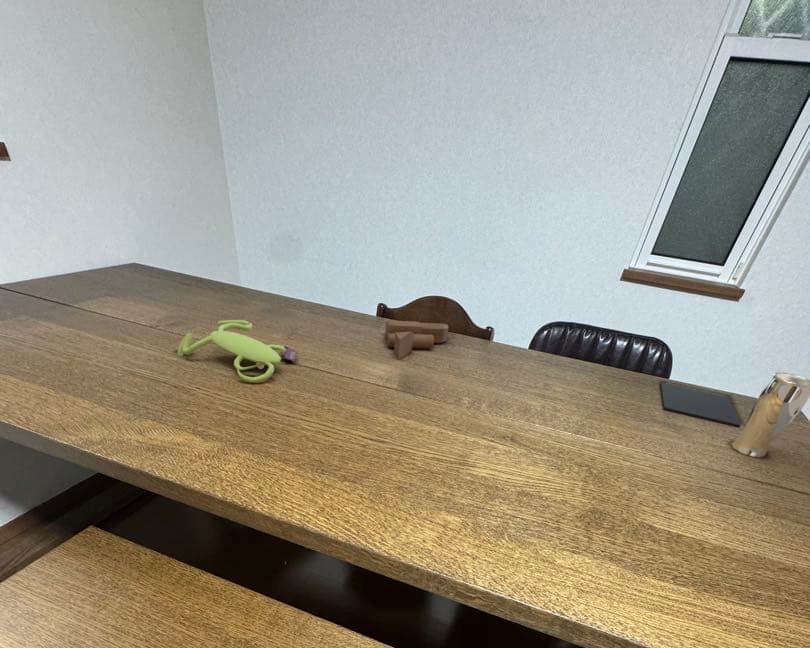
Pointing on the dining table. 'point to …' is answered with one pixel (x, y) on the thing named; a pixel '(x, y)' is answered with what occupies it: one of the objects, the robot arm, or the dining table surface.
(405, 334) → the wooden block set
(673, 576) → the dining table surface
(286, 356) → the figurine
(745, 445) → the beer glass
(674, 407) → the mat
